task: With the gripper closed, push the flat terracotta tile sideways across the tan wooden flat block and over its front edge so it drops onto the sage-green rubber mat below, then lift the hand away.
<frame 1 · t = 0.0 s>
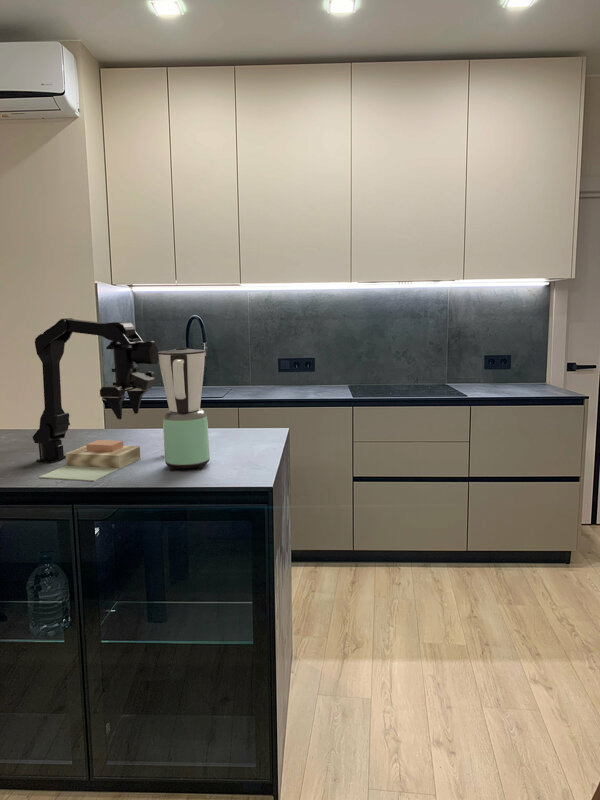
hand: (128, 416, 180), 15 cm above the countertop, fingers open, 9 cm apart
tile: (105, 449, 185), point 4 cm above the countertop, touching tan wooden flat block
tan wooden flat block: (104, 462, 185), on the countertop
mat: (79, 473, 173), on the countertop
mint green blender: (187, 467, 177), on the countertop
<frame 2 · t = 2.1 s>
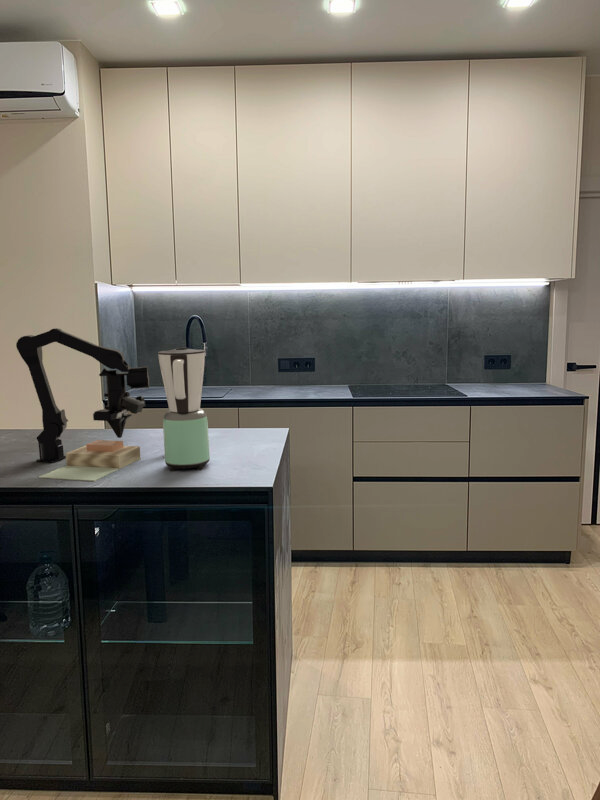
hand: (119, 437, 193), 6 cm above the countertop, fingers closed
nothing on the countertop moved.
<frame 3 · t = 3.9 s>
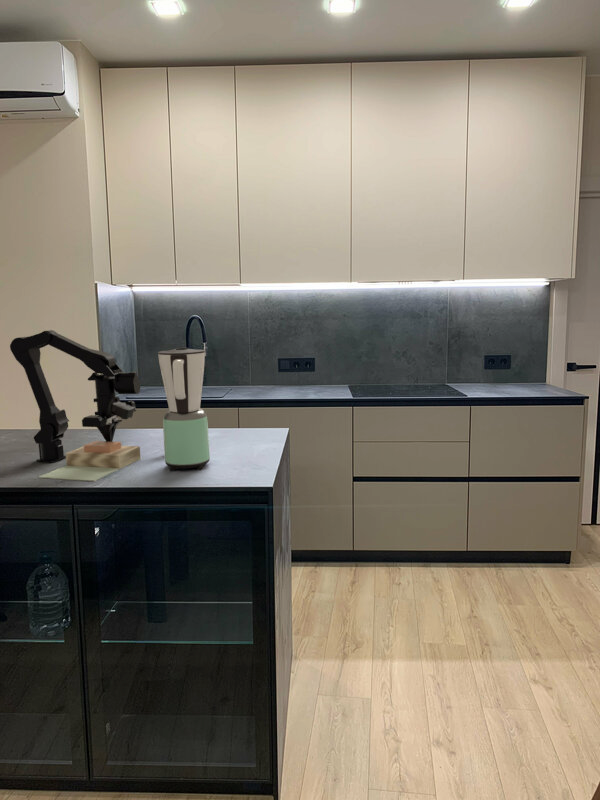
hand: (109, 443, 187), 5 cm above the countertop, fingers closed
tile: (102, 449, 184), point 4 cm above the countertop, touching tan wooden flat block, gripper
everything else where it was.
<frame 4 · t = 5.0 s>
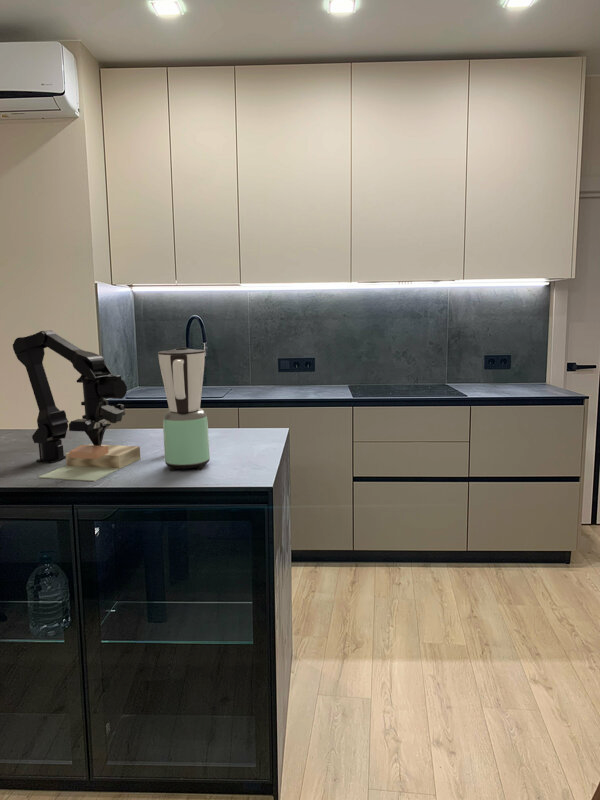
hand: (98, 448, 181), 5 cm above the countertop, fingers closed
tile: (89, 455, 178), point 4 cm above the countertop, tilted 5°, touching tan wooden flat block
everything else where it was.
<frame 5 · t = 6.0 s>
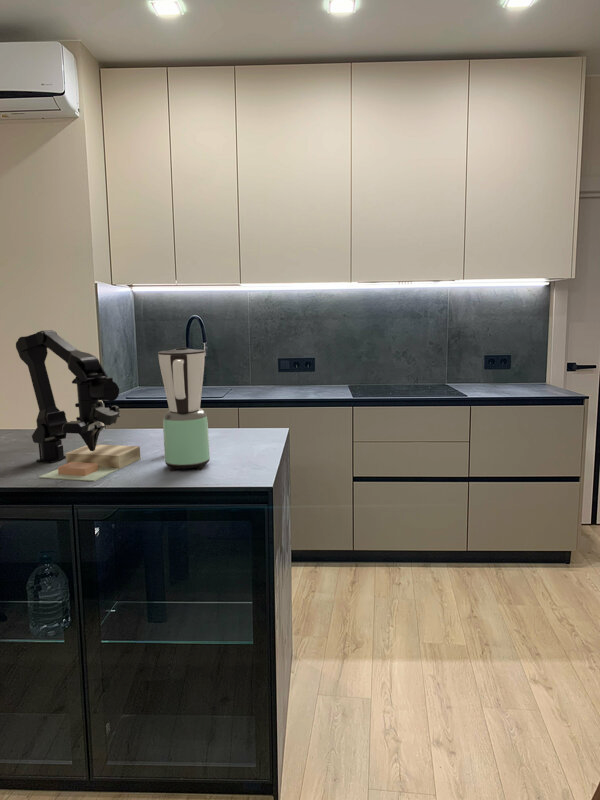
hand: (92, 450, 179), 5 cm above the countertop, fingers closed
tile: (77, 465, 173), point 2 cm above the countertop, tilted 180°, touching mat
everything else where it was.
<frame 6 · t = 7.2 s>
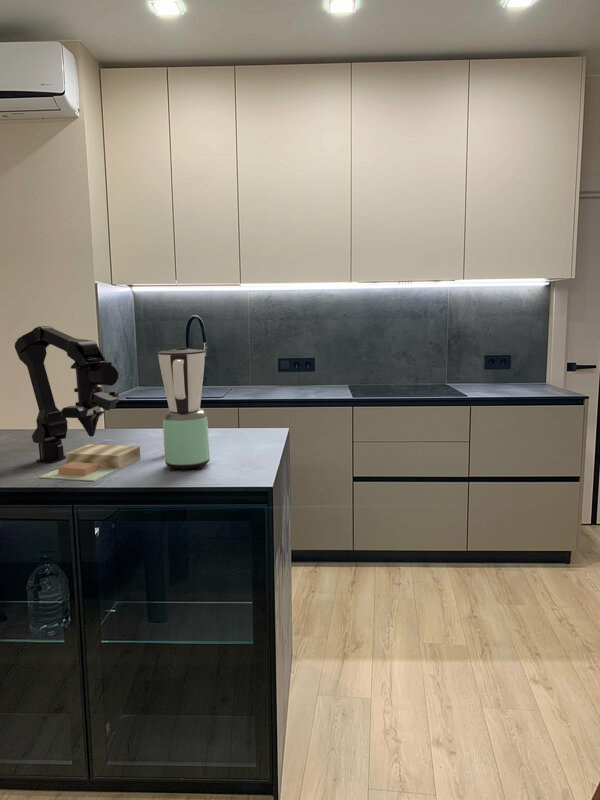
hand: (91, 436, 178), 9 cm above the countertop, fingers closed
nothing on the countertop moved.
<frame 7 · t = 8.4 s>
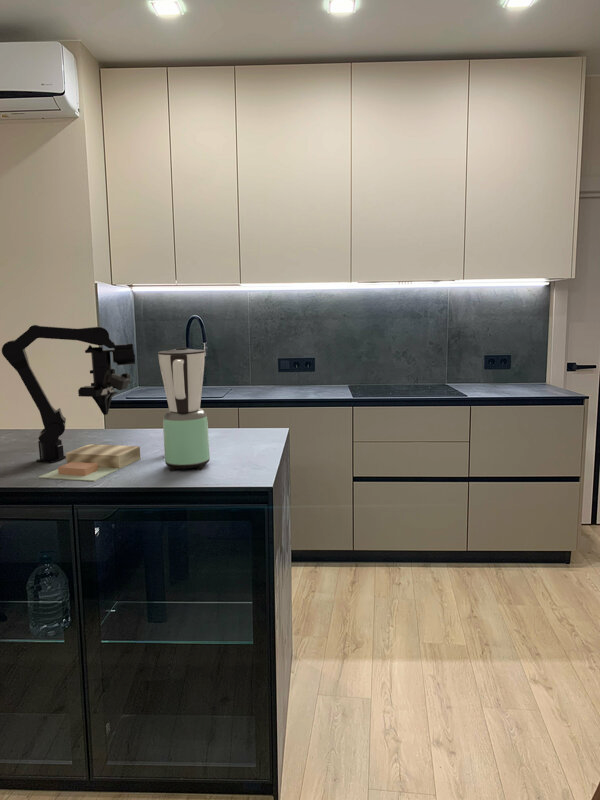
hand: (105, 414, 193), 13 cm above the countertop, fingers closed
nothing on the countertop moved.
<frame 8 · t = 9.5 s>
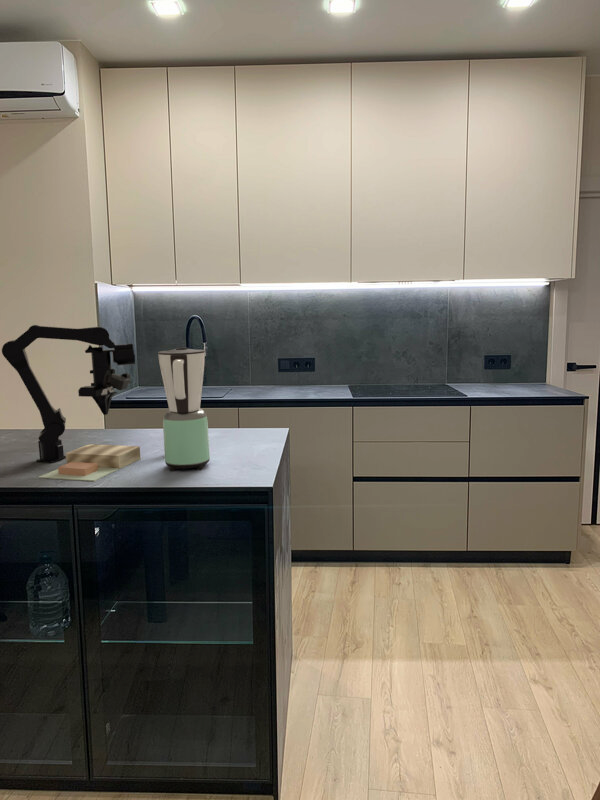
hand: (105, 414, 194), 13 cm above the countertop, fingers closed
nothing on the countertop moved.
at the end: tile inside the target area (0.7 cm from its centre), point 2.3 cm above the countertop; tile touching mat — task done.
